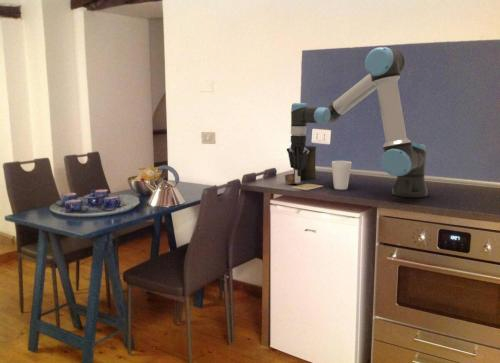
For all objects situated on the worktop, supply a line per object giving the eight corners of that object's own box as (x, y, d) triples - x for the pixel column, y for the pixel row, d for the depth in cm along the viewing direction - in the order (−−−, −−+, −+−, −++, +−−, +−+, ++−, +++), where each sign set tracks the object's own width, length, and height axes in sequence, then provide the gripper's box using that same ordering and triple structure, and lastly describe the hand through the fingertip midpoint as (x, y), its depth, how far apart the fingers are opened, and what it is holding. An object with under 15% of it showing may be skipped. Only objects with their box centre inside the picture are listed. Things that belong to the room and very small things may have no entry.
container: (318, 179, 248) (319, 146, 245) (311, 182, 241) (312, 147, 238) (303, 178, 253) (304, 145, 250) (296, 180, 245) (296, 146, 242)
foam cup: (350, 191, 218) (351, 163, 215) (330, 190, 220) (331, 163, 217) (350, 187, 227) (351, 161, 225) (331, 186, 229) (332, 160, 226)
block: (299, 182, 233) (298, 173, 233) (292, 183, 230) (290, 173, 230) (293, 183, 237) (292, 174, 237) (285, 184, 234) (284, 175, 234)
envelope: (324, 186, 229) (324, 185, 229) (306, 190, 219) (306, 189, 219) (307, 184, 236) (307, 183, 236) (290, 187, 226) (290, 187, 226)
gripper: (313, 135, 225) (312, 183, 229) (293, 133, 234) (292, 180, 238) (304, 136, 220) (303, 185, 224) (283, 134, 228) (282, 181, 232)
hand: (297, 182), depth 231 cm, fingers closed
